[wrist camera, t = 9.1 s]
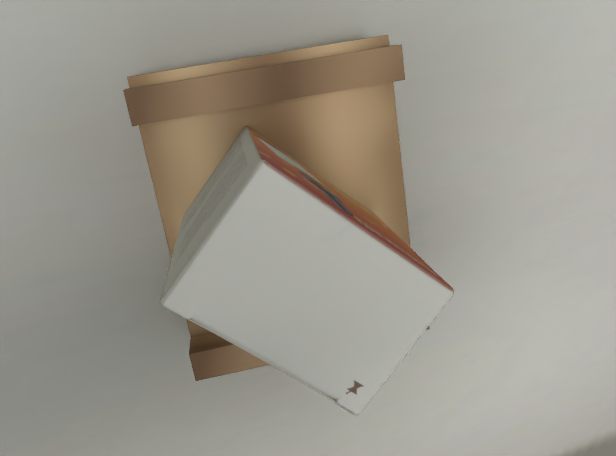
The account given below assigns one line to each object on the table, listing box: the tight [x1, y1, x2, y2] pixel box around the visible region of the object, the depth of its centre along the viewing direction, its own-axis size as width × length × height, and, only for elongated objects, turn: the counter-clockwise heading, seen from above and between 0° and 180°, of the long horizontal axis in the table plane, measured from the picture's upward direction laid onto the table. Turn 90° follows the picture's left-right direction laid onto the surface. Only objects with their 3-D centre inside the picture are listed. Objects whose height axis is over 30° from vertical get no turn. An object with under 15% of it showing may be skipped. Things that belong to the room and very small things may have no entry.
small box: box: [160, 126, 454, 415], centre depth 22 cm, size 8×6×10 cm
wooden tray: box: [123, 35, 429, 381], centre depth 28 cm, size 12×15×6 cm
